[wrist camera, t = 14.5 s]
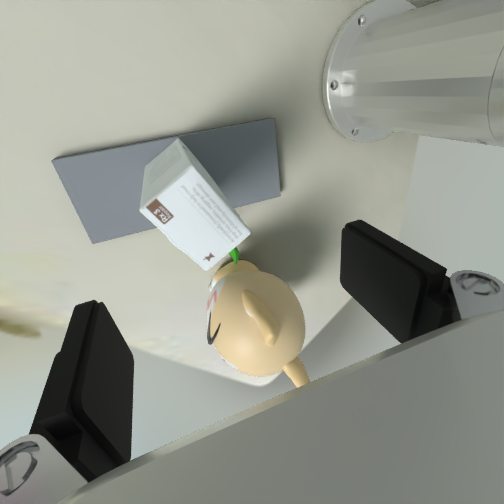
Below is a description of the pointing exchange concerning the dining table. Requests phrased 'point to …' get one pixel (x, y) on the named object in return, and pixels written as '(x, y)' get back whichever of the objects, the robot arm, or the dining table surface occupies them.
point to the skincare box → (190, 206)
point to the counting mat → (140, 154)
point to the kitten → (255, 321)
